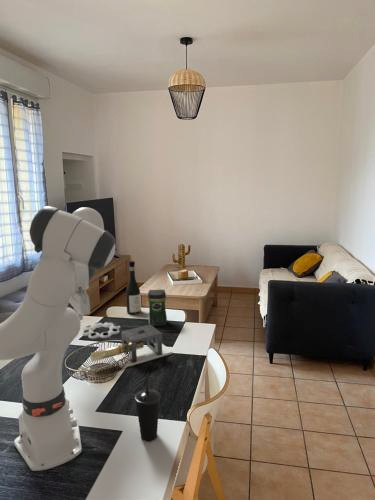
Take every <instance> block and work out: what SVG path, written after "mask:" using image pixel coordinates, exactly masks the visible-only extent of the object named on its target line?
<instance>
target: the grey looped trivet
mask: <svg viewBox="0 0 375 500" xmlns="http://www.w3.org/2000/svg"><path fill="white" fill-rule="evenodd" d="M97 328H100V329H101V328H108V329H109V330H108V331H103V332H101V333H99V332H98V331H97V332H96V331H95V332H94V330H96V329H97ZM119 329H121V326H120V325H118V324H117V323H113V322H112V321H105V322H104V323H102V322H95V323H93V324H92V325H87V326H85V327H84V328H83V331H82V333H81V335H82V336H88V338H89V339H92V340H93V339H99V338H101V339H108V338H110V337H111V336H112V335H116V334H117V335H118V334H119V333H120V330H119ZM114 330H115V331H114ZM104 334H106V335H104Z"/></svg>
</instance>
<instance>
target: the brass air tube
mask: <svg viewBox="0 0 375 500" xmlns="http://www.w3.org/2000/svg"><path fill="white" fill-rule="evenodd" d="M143 341H144V340H142V341H138V342H136V350H138V349H142V348H143V347H145V346H144V342H143ZM127 352H129V344H128V343H127V344H123V345H122V344H119V345H115V346H113V347H108V348H104V349H100V350H97V351H92V352H91V353H90V358H91V361H92V362H94V363H95V362H97V361H101V360H105V359H108V358H112V356H116V355H121V354H123V353H127Z"/></svg>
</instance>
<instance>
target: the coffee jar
mask: <svg viewBox="0 0 375 500" xmlns="http://www.w3.org/2000/svg"><path fill="white" fill-rule="evenodd" d="M166 300H167V293H166V291H165V289H149V290H148V293H147V302H148V305H149V306H148V307H149V308H148V309H149V310H148V311H149V312H148V325H152V326H153V327H161V326H165V325H167V323H168V317H167V310H166Z"/></svg>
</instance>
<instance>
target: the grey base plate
mask: <svg viewBox="0 0 375 500" xmlns="http://www.w3.org/2000/svg"><path fill="white" fill-rule="evenodd" d="M136 354H137V362H135V363H132V362H131V361H130V360H129V362H128V363H127V364H126V365H125V367H124V368H123V369H125V368H128V367H132V366H135V365H139V364H142V363H146V362H149V361H152V360H157V359H159V358H162V357H165V356H169V355H173V351H172V350H171V349H170V348H169V347H167V346H166V345H165V344H164V343H162V355H159V356H158V355H157V354H156V353H154V352H153V351H152V350H151V349H150V348H149V347H148V346H147V345H146V346H144V347H143V348H142V349H138V350H136ZM121 358H122V355H116V356H112V357H111V359H112V360H113V362H115V361H117V360H119V359H121Z"/></svg>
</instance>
